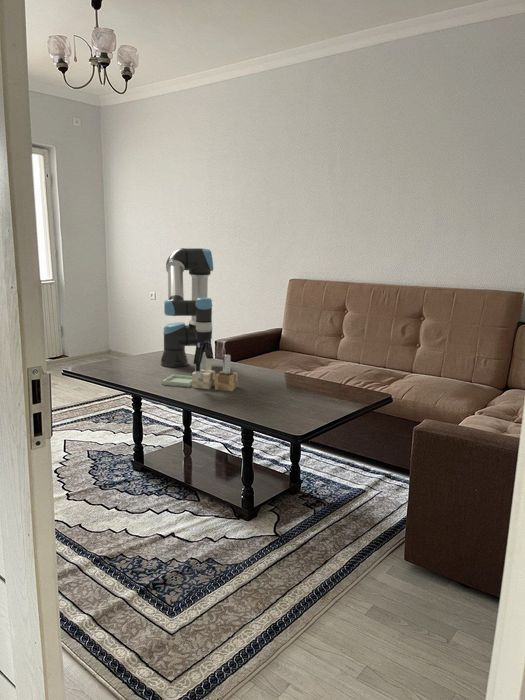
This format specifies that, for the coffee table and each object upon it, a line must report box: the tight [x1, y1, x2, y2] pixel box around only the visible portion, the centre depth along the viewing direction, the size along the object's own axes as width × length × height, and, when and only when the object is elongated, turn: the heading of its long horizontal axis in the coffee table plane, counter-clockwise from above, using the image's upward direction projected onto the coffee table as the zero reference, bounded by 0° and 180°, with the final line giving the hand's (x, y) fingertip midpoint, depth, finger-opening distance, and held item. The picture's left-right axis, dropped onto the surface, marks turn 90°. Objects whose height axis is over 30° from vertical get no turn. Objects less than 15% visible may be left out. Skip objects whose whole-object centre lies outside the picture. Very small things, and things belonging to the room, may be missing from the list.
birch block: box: [191, 369, 216, 390], centre depth 260 cm, size 8×8×7 cm
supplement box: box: [194, 352, 206, 372], centre depth 281 cm, size 7×7×13 cm
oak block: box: [214, 370, 239, 392], centre depth 258 cm, size 8×8×7 cm
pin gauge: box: [222, 354, 231, 376], centre depth 257 cm, size 4×4×16 cm
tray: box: [161, 374, 192, 388], centre depth 266 cm, size 14×14×2 cm
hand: (203, 374), depth 260 cm, fingers open, 13 cm apart
